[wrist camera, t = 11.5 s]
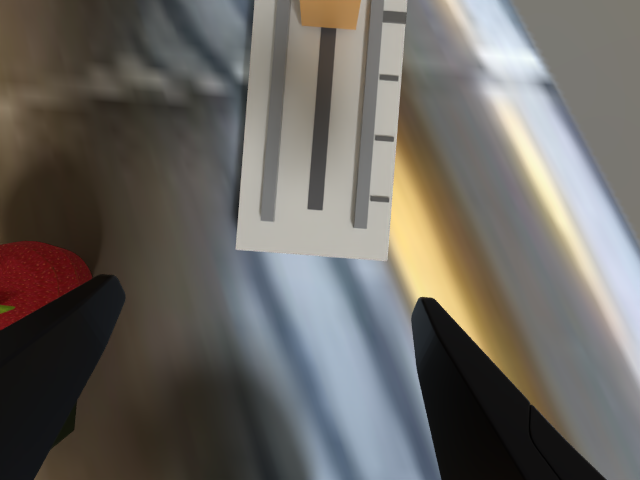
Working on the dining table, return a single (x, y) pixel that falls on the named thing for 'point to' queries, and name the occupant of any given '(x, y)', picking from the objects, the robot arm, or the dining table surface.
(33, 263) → the strawberry
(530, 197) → the dining table surface
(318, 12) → the fader lever
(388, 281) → the dining table surface
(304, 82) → the dimmer console
